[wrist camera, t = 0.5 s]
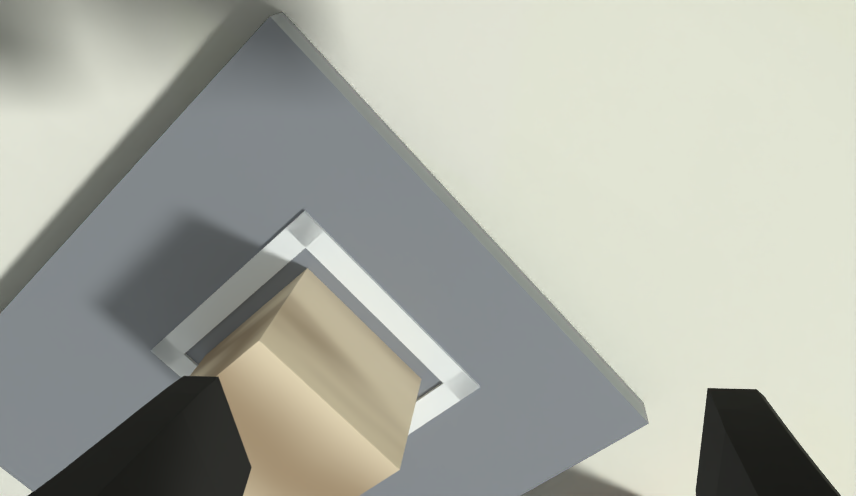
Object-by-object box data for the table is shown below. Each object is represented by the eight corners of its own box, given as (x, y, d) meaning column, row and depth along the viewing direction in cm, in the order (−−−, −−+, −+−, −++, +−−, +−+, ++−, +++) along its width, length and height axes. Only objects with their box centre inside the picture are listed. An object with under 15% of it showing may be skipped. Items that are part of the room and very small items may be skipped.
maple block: (315, 452, 23) (276, 548, 19) (205, 354, 22) (142, 437, 18) (421, 379, 21) (399, 469, 18) (307, 267, 20) (259, 340, 16)
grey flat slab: (250, 630, 29) (241, 655, 28) (-60, 387, 25) (-84, 405, 24) (643, 402, 22) (649, 425, 21) (282, 12, 18) (268, 16, 17)
